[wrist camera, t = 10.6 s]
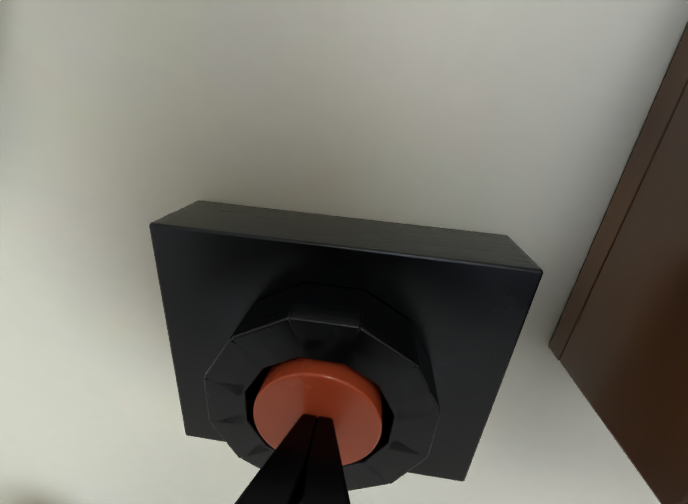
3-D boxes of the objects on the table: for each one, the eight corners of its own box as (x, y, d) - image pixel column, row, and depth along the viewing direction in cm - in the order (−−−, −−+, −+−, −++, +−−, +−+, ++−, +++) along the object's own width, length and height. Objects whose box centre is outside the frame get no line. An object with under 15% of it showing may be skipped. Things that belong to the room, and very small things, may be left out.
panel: (508, 234, 11) (585, 309, 7) (450, 420, 14) (477, 541, 10) (197, 199, 12) (95, 247, 7) (216, 384, 15) (155, 483, 11)
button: (389, 340, 9) (391, 385, 8) (374, 424, 11) (373, 477, 9) (271, 323, 10) (249, 364, 8) (272, 408, 11) (254, 457, 10)
